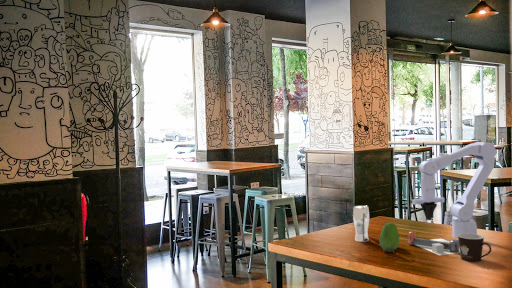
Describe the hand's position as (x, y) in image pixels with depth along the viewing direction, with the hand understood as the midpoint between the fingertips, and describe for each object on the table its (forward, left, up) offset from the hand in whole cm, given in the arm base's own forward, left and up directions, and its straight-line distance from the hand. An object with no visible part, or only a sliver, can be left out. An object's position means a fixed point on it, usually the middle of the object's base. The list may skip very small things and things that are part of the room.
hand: (428, 219), depth 212 cm
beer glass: (+26, -12, -10) cm, 30 cm away
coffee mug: (+5, +35, -10) cm, 37 cm away
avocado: (+24, +9, -10) cm, 27 cm away
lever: (+8, +16, -8) cm, 19 cm away
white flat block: (+4, +14, -9) cm, 17 cm away
